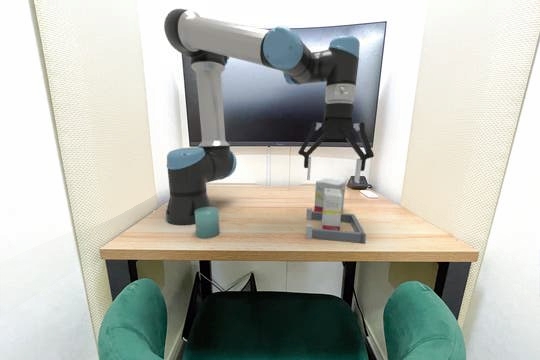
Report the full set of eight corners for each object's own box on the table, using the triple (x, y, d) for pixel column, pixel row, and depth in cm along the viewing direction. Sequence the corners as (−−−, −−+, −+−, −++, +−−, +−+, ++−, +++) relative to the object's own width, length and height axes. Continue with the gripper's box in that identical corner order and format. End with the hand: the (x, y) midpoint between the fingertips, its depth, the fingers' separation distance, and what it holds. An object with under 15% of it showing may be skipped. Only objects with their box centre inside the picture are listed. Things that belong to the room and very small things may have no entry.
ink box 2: (339, 236, 60) (343, 195, 57) (321, 234, 61) (324, 194, 58) (337, 224, 68) (340, 188, 65) (321, 222, 69) (323, 187, 67)
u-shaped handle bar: (305, 238, 58) (306, 226, 57) (306, 217, 73) (306, 207, 72) (365, 243, 55) (366, 231, 55) (353, 221, 70) (354, 210, 70)
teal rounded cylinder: (191, 237, 58) (190, 213, 57) (203, 227, 64) (201, 206, 63) (213, 239, 57) (212, 215, 56) (222, 229, 63) (221, 207, 62)
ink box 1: (335, 217, 74) (338, 184, 71) (313, 212, 79) (314, 180, 76) (343, 210, 80) (346, 180, 78) (322, 206, 85) (324, 177, 83)
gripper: (291, 101, 55) (288, 180, 60) (394, 101, 51) (382, 186, 56) (293, 105, 63) (290, 175, 67) (384, 105, 58) (373, 180, 63)
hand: (332, 180), depth 61 cm, fingers open, 13 cm apart
